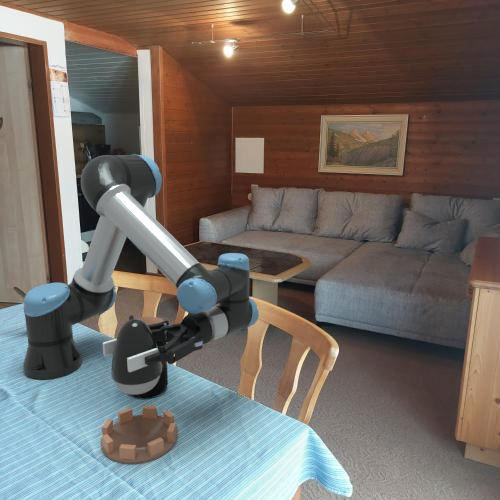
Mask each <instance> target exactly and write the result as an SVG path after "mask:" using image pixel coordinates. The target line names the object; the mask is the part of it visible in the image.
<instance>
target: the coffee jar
mask: <svg viewBox="0 0 500 500" xmlns="http://www.w3.org/2000/svg"><path fill="white" fill-rule="evenodd" d="M134 319H139V320H142V321H144V322H145V323H146V324H147V325H152V324H157V323H160V322H163V321H165V320H164V319H163V318H160V317H156V316H140V317H134ZM127 321H129V319H128V320H127ZM127 321H125V322H124V323H123V324H122V326H123V325H124V324H125V323H126V322H127ZM165 338H166V334H165ZM156 344H157V347H158V350H159V346H160V347H161V346H164V345H166V344H167V342H166V343H163V342H162V341H157V342H156ZM159 352H160V350H159ZM161 363H162V372H161V374H160V378H159V380H158V382H157V384H156V385H155V386H154V387H153V388H152V389H151V390H149V391H148V392H145V393H142V394H137V395H132V394H129V395H130V396H132V397H134V398H136V399H151V398H155V397H157V396H159V395H161V394H163V393H164V391H165V390H166V389H167V386H168V384H169V382H168V381H169V379H168V376H169V375H168V361H165V362H161Z"/></svg>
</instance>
